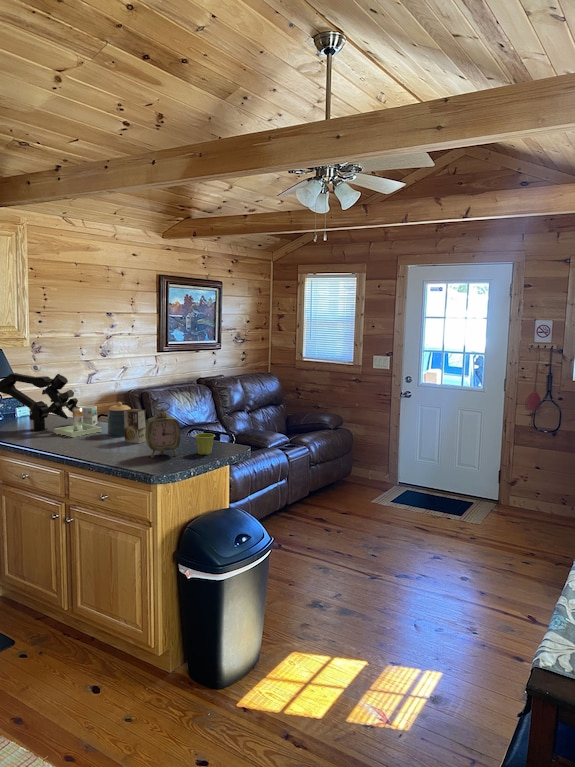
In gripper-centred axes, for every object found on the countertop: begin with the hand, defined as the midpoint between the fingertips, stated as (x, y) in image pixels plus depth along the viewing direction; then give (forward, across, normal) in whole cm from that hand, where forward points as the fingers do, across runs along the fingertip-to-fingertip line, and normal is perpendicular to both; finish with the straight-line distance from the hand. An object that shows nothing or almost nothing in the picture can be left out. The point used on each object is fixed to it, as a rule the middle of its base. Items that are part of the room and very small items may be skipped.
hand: (72, 417), depth 309 cm
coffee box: (+36, -7, -24) cm, 44 cm away
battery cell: (+8, 0, +3) cm, 8 cm away
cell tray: (+8, 0, +4) cm, 9 cm away
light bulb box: (+2, +19, +10) cm, 22 cm away
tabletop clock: (+54, -27, -43) cm, 74 cm away
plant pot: (+66, -17, -55) cm, 87 cm away
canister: (+24, +4, -12) cm, 28 cm away
